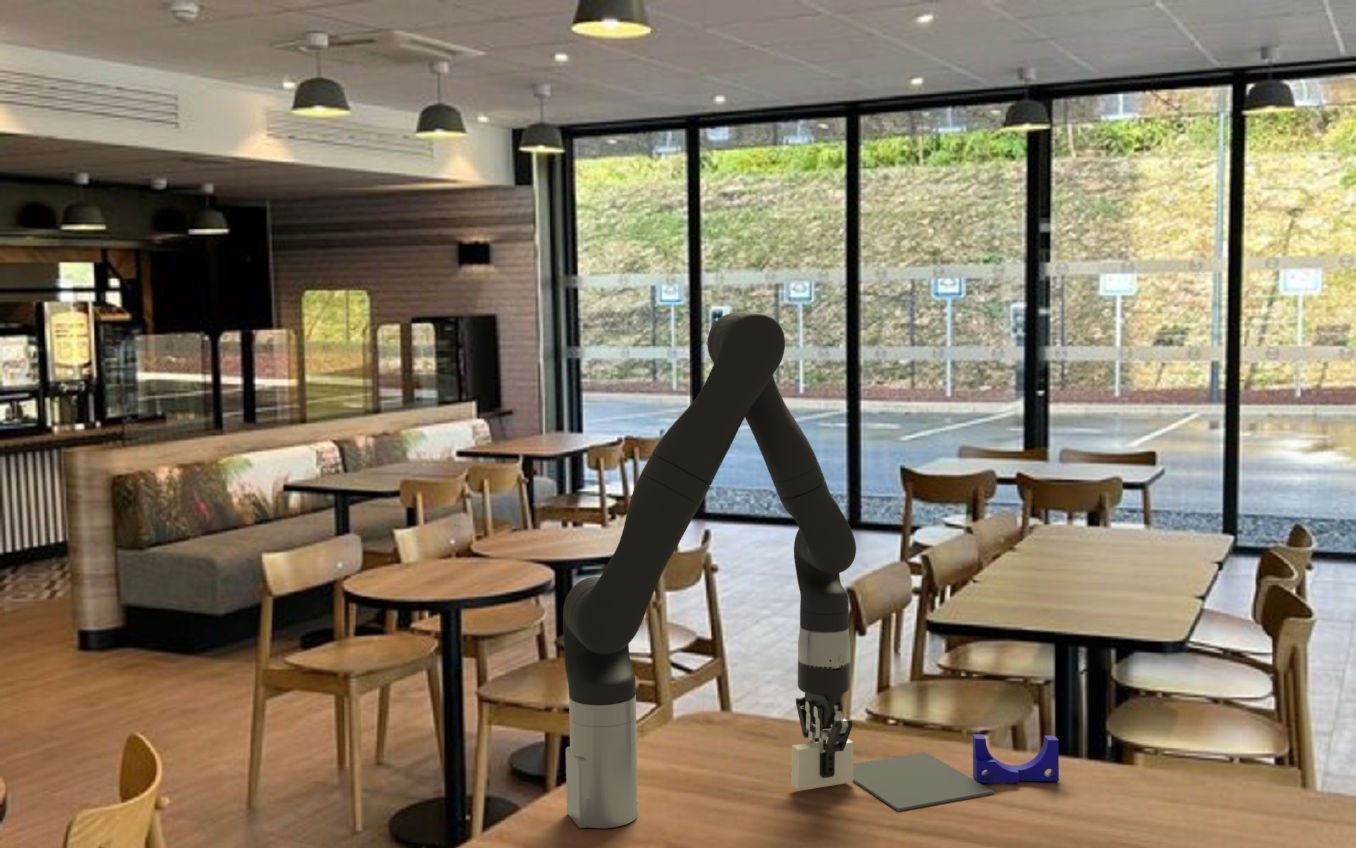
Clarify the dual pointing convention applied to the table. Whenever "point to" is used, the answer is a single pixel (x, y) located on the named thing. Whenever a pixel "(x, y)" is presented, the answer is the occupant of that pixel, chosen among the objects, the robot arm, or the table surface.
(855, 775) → the mat
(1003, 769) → the blue u-shaped bracket
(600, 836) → the table surface
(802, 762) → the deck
